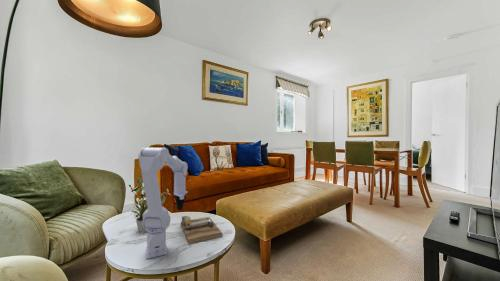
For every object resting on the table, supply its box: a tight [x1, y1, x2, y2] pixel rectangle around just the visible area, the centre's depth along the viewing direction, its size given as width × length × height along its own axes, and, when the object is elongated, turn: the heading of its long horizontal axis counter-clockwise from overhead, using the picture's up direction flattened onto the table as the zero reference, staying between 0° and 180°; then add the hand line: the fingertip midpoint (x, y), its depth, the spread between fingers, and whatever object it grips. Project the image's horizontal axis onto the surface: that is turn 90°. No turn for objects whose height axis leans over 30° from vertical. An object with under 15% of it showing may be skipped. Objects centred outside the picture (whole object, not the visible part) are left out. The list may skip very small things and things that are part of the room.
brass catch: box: [185, 216, 192, 225], centre depth 102 cm, size 5×2×2 cm, turn 28°
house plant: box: [130, 198, 148, 233], centre depth 102 cm, size 14×14×16 cm
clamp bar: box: [186, 218, 213, 228], centre depth 104 cm, size 4×13×2 cm, turn 118°
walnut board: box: [180, 215, 223, 245], centre depth 104 cm, size 22×16×5 cm
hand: (179, 209), depth 107 cm, fingers closed
